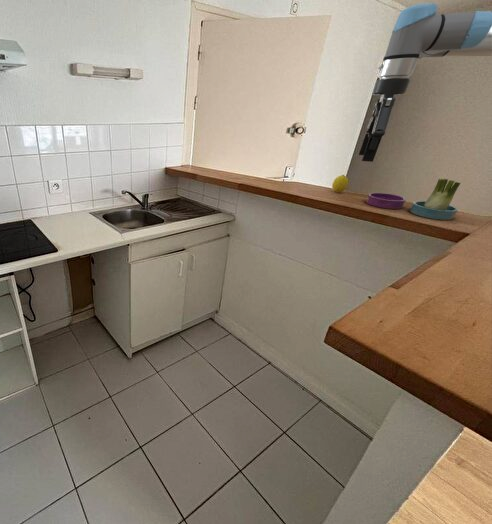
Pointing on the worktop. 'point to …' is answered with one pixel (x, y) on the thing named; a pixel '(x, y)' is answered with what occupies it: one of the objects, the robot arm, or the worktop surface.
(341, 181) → the lemon
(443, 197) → the fennel bulb
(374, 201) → the plum bowl
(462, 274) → the worktop surface
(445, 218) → the teal bowl
